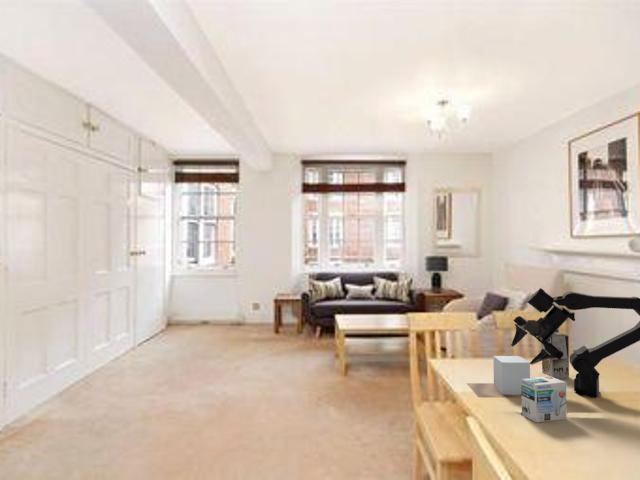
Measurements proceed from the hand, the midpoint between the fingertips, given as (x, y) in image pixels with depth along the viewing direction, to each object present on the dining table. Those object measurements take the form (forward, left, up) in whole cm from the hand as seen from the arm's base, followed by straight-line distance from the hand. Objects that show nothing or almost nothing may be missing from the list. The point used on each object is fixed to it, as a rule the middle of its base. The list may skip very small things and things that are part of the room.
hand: (521, 354), depth 162 cm
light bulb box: (-15, +23, -12) cm, 30 cm away
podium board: (+3, +10, -12) cm, 16 cm away
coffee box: (-4, -25, -12) cm, 28 cm away
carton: (0, +9, -11) cm, 14 cm away
